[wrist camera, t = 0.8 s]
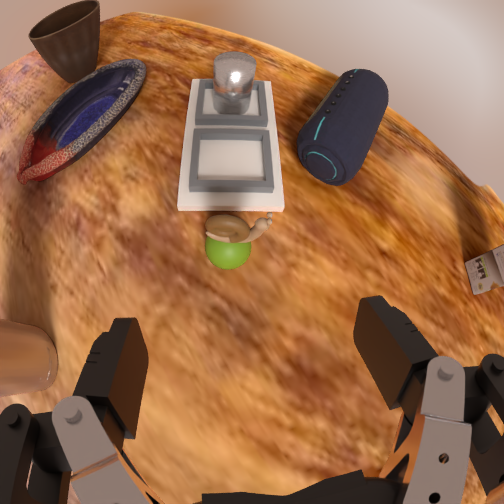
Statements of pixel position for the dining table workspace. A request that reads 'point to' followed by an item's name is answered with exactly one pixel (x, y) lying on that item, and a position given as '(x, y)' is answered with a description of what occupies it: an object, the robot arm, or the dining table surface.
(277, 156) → the compartment tray
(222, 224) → the snail figurine
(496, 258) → the coffee box
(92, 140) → the dish
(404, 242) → the dining table surface
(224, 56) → the silver metal cylinder
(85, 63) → the plant pot
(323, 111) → the portable speaker
